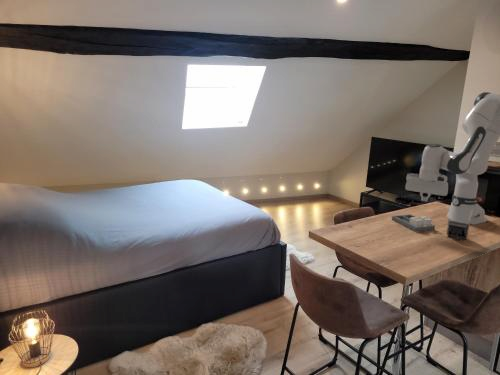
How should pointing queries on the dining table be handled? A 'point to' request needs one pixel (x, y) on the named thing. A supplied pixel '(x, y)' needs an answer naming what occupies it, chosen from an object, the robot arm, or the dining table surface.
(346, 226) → the dining table surface
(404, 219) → the switch board
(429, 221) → the white cube-shaped block
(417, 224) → the white sliding block
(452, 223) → the electrical switch
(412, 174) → the robot arm
